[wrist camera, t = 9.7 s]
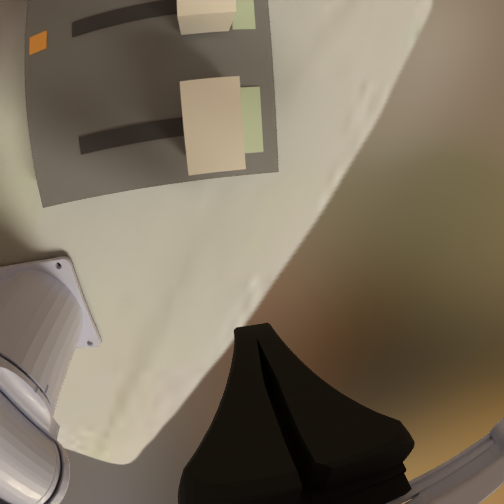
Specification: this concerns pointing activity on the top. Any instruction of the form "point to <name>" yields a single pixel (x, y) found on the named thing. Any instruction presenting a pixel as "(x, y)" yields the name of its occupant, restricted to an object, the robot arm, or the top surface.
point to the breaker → (213, 124)
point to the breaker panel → (135, 93)
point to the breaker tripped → (205, 15)
